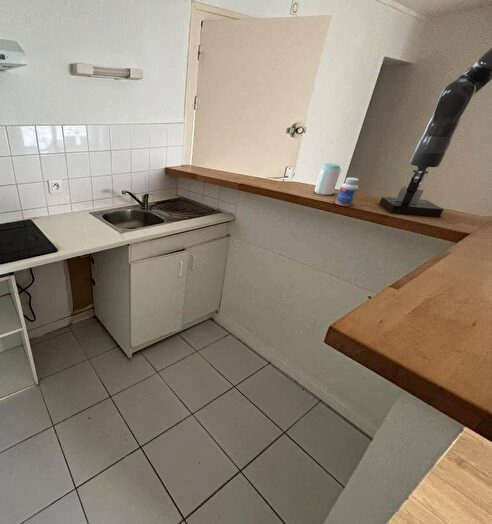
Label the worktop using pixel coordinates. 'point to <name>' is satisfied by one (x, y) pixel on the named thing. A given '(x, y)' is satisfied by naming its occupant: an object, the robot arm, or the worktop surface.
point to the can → (327, 179)
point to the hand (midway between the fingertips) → (406, 201)
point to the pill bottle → (347, 192)
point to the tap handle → (415, 197)
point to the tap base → (411, 207)
